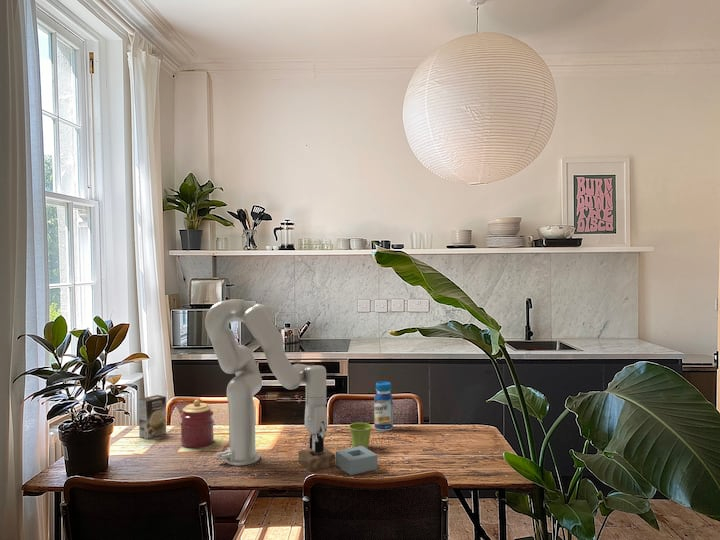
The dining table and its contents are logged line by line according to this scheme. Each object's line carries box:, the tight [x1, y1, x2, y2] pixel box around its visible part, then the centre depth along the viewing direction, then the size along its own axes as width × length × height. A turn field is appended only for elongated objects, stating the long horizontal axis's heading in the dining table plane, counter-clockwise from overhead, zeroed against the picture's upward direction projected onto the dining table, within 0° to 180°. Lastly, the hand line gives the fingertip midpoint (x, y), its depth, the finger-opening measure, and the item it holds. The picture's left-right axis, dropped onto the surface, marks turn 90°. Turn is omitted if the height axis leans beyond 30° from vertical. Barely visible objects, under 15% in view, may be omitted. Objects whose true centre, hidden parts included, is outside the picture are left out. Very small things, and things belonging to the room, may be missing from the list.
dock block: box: [335, 446, 379, 476], centre depth 195 cm, size 11×11×5 cm
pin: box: [312, 431, 321, 456], centre depth 198 cm, size 3×3×12 cm
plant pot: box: [348, 422, 373, 450], centre depth 214 cm, size 9×9×9 cm
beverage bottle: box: [373, 381, 394, 432], centre depth 238 cm, size 8×8×20 cm
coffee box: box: [138, 394, 167, 440], centre depth 232 cm, size 9×6×16 cm
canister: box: [179, 399, 215, 449], centre depth 222 cm, size 13×13×18 cm
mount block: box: [298, 446, 336, 472], centre depth 198 cm, size 10×10×4 cm
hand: (316, 449), depth 198 cm, fingers open, 3 cm apart
